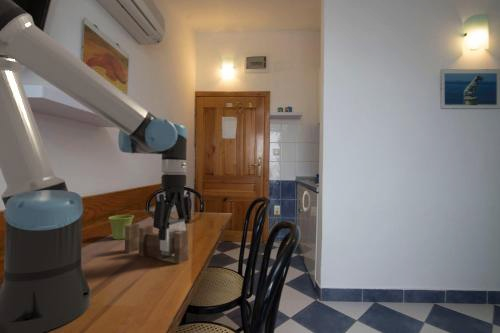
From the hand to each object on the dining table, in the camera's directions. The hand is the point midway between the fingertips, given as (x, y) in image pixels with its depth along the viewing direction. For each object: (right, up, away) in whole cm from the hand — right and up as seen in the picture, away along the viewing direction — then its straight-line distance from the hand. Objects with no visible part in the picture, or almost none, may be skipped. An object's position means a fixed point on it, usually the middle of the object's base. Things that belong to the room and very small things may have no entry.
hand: (173, 246), depth 79 cm
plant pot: (-29, -4, +24) cm, 38 cm away
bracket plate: (0, -2, 0) cm, 2 cm away
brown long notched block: (-7, -4, +3) cm, 8 cm away
